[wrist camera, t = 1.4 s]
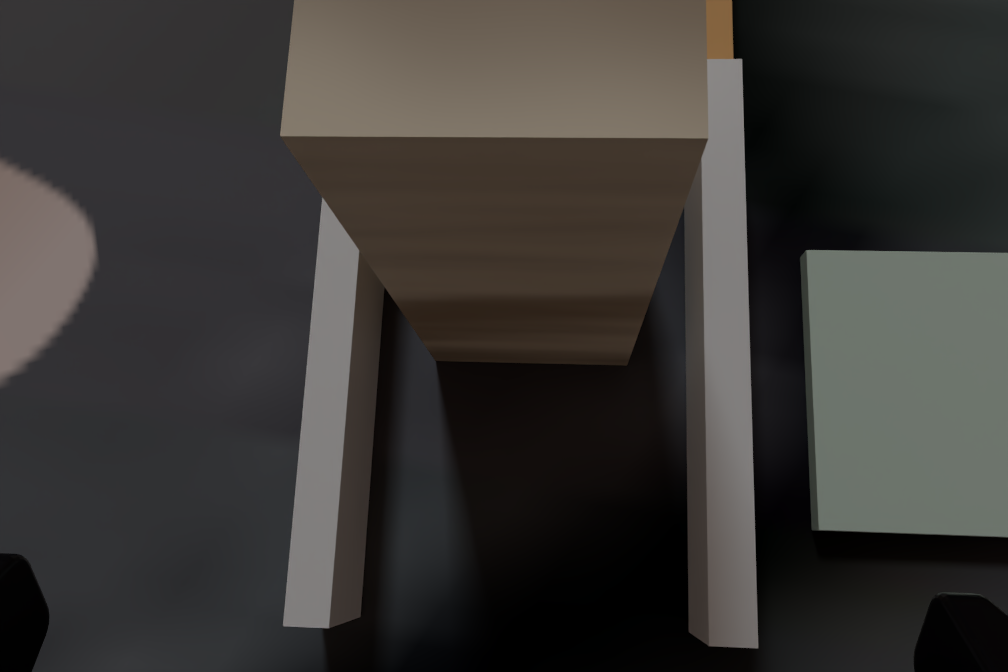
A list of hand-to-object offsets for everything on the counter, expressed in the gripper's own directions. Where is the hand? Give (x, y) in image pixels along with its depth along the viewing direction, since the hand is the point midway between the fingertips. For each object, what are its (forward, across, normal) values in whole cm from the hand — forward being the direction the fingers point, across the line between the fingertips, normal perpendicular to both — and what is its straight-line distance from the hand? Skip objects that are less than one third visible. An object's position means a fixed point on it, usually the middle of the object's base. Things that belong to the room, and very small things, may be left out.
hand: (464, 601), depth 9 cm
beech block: (+15, 0, +4) cm, 15 cm away
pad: (+13, -10, +6) cm, 18 cm away
